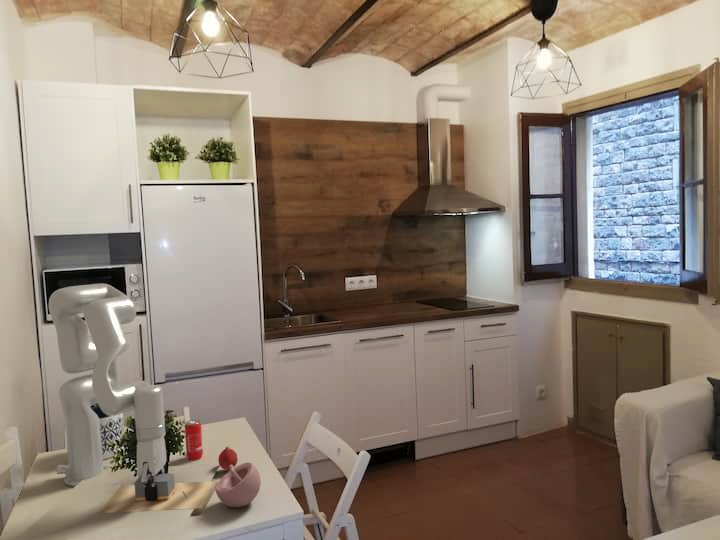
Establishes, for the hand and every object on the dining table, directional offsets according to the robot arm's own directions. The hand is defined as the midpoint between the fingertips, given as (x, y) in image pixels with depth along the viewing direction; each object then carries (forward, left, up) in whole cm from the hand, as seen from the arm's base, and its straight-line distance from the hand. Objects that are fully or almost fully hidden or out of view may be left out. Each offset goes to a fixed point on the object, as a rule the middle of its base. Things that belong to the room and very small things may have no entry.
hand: (155, 494), depth 153 cm
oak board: (+1, 0, -2) cm, 2 cm away
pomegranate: (+16, +18, -2) cm, 24 cm away
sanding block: (0, 0, 0) cm, 0 cm away
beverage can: (+2, +30, -2) cm, 30 cm away
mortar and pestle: (+24, -4, -2) cm, 24 cm away
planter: (-33, +38, -2) cm, 50 cm away
